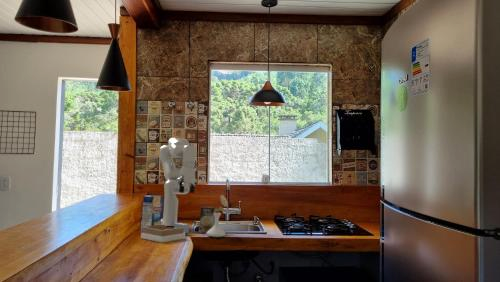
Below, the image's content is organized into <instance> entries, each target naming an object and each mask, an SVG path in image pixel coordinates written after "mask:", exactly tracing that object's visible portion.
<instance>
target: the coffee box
mask: <svg viewBox="0 0 500 282" xmlns="http://www.w3.org/2000/svg"><path fill="white" fill-rule="evenodd" d="M215 208H216V207H215V206H214V207H212V206H201V207H200V213H199V223H198V233H199V234H206V233H207V232H208V231H209V230H210V229H211V228H212V227H213V226H214V224H215V217H214V214H213V213H217V211H216V210H215Z"/></svg>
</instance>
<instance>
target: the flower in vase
mask: <svg viewBox="0 0 500 282" xmlns="http://www.w3.org/2000/svg"><path fill="white" fill-rule="evenodd" d="M219 199H220V202H221V203H220V205H219V208H217V207H215V210H216V213H213V214H214V217H215V224H214V226H213V227H212V228H211V229H210V230H209V231H208V232H207V233H205V234H206V235H207V236H209V237H212V238H222V237H225V235H226V232H225V231H224V230H223V229H222V228H221V227H220V225H219V221H220V217H221V215H222V213H221V212H223V211H224V208H225V207H226V208H228V206H229V202H228V200H227V198H226V197H225V195H224V194H221V195H220V197H219ZM221 205H222V206H224V208H223V207H222V206H221ZM220 211H221V212H220Z"/></svg>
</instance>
